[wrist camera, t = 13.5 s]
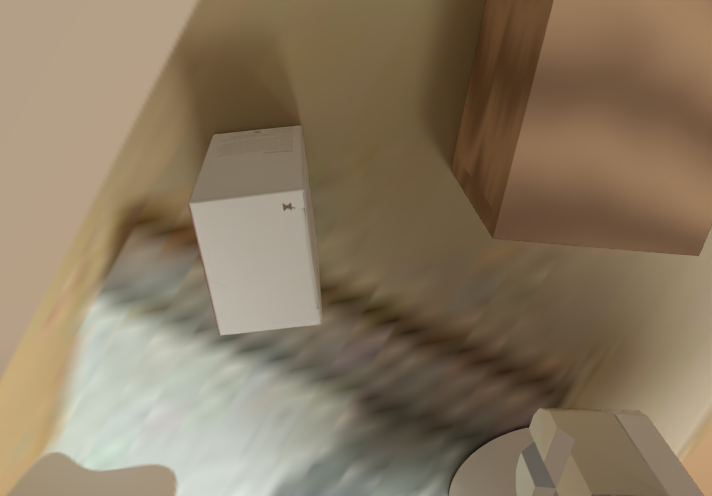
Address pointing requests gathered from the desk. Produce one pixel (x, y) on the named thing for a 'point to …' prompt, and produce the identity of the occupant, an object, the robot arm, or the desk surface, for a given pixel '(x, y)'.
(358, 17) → the desk surface
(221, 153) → the small box
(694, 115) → the shelf
